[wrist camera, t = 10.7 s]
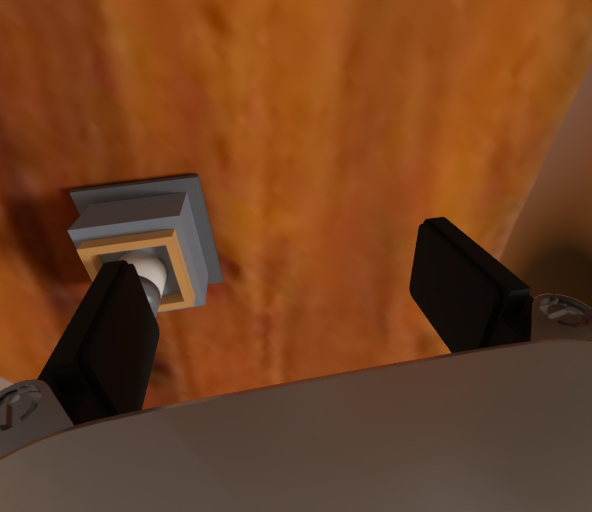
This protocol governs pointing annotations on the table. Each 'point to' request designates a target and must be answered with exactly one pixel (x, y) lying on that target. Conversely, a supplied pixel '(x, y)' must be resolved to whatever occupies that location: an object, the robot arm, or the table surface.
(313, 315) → the table surface
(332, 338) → the table surface
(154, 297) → the gray and white capsule
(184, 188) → the grey square peg holder
